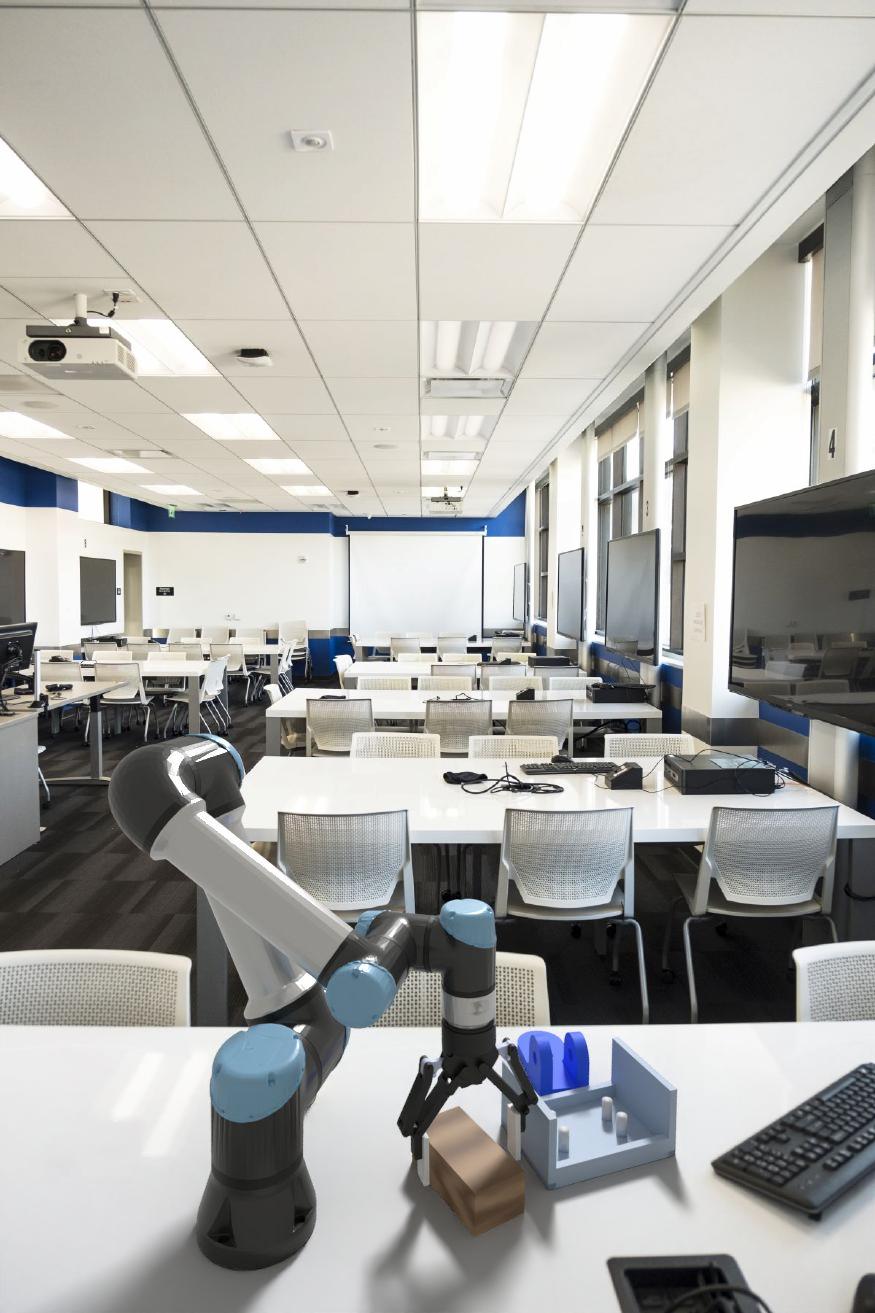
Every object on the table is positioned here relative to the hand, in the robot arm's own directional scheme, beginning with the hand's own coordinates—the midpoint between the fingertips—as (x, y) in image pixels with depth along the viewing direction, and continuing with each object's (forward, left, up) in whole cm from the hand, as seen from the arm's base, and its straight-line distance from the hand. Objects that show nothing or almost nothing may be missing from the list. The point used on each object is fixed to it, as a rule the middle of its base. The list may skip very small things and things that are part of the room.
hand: (469, 1166), depth 107 cm
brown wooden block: (0, 0, -3) cm, 3 cm away
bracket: (+24, +22, -3) cm, 33 cm away
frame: (+21, +3, -3) cm, 21 cm away
